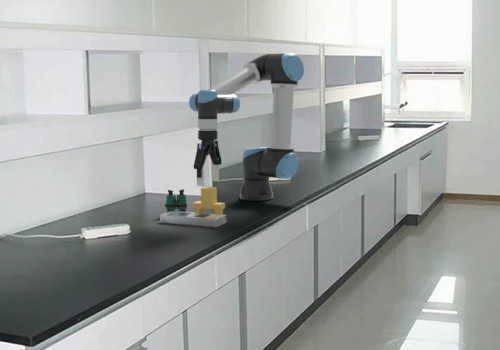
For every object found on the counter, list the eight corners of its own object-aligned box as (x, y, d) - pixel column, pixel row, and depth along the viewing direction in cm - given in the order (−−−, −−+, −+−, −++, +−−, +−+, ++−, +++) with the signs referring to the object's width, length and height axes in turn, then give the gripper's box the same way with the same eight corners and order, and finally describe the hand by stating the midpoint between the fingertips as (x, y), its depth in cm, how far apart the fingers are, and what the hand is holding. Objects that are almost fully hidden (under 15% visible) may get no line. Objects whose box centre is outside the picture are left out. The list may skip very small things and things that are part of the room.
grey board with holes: (171, 217, 285) (171, 210, 285) (226, 222, 276) (226, 214, 275) (160, 222, 277) (160, 214, 276) (216, 227, 268) (216, 219, 267)
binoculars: (185, 187, 297) (187, 189, 287) (186, 213, 298) (188, 215, 288) (164, 188, 296) (164, 190, 286) (164, 213, 296) (165, 216, 287)
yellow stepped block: (193, 217, 285) (192, 187, 283) (198, 215, 289) (197, 186, 287) (220, 219, 281) (220, 189, 279) (225, 217, 284) (224, 188, 282)
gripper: (212, 127, 292) (213, 178, 295) (184, 131, 269) (184, 187, 272) (229, 127, 289) (229, 179, 292) (202, 132, 266) (202, 188, 270)
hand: (208, 183), depth 282 cm, fingers open, 13 cm apart
